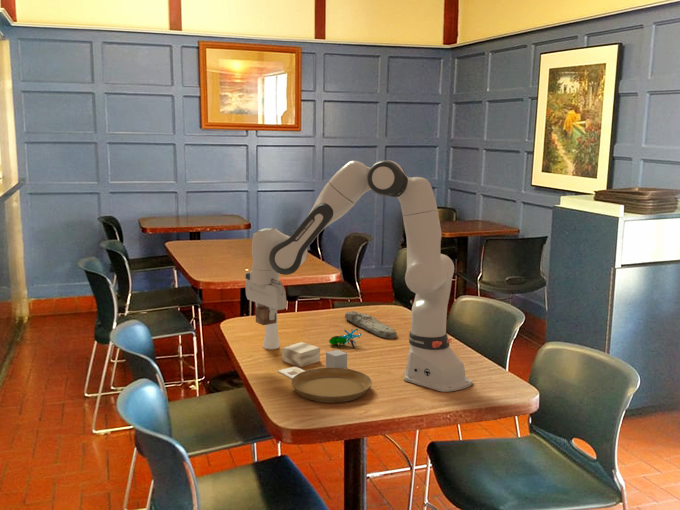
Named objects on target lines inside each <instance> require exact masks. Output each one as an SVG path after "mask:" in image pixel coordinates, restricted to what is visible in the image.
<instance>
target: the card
mask: <svg viewBox="0 0 680 510" xmlns="http://www.w3.org/2000/svg"><path fill="white" fill-rule="evenodd" d="M304 371H305V369H302V368H301V367H299V366H296V365H294V366H292V367H287V368H282V369H278V370H277V372H278V373H279V374H281V375H283V376H285V377H286V378H289V379H291V380H292V379H293V377H294V376H296V375H297V374H299V373H301V372H304Z"/></svg>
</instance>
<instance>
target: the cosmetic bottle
mask: <svg viewBox="0 0 680 510" xmlns="http://www.w3.org/2000/svg"><path fill="white" fill-rule="evenodd" d="M264 326H265V327H264V328H265V329H264V340H263V345H262V348H263V349H264V350H278V349H279V348H280V347H281V344H280V339H279V329H278V327H279V326H278V310H277V311H276V323H274V324H268V325H264Z"/></svg>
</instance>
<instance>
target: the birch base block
mask: <svg viewBox="0 0 680 510" xmlns="http://www.w3.org/2000/svg"><path fill="white" fill-rule="evenodd" d="M281 350H282V351H281V353H282V354H281V355H282V356H281V357H282V359H281V362H284V363H288V364H290V365H294V366H296V367H298V368H302V367H306V366H308V365H312V364H314V363H317V362H320V360H321V347H320V346H316V345H313V344H309V343H306V342H303V341H301V342H300V341H299V342H296V343H293V344H290V345H289V344H288V345H287V346H283V347H282V349H281Z"/></svg>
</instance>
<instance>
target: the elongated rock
mask: <svg viewBox="0 0 680 510" xmlns="http://www.w3.org/2000/svg"><path fill="white" fill-rule="evenodd" d="M344 318H345V319H346V320H347V321H348V322H349V321H350V322H349V323H351V322H352V323H353V324H355V325H357V327H358V328H361V329H364V330H365V331H368V332H369V333H372V334H373V335H374V336H377V337H380V338H383V339H396V338H397V337H398V335H397V331H396V330H395V328H393V327H390V326H389V325H387V324H386V323H383V322H381V321H379V320H377V318H376V316H372V315H370V314H367V313H362V312H357V311H354V310H351V311H347V312H345V313H344ZM352 323H351V324H352ZM355 325H354V326H355Z"/></svg>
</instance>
